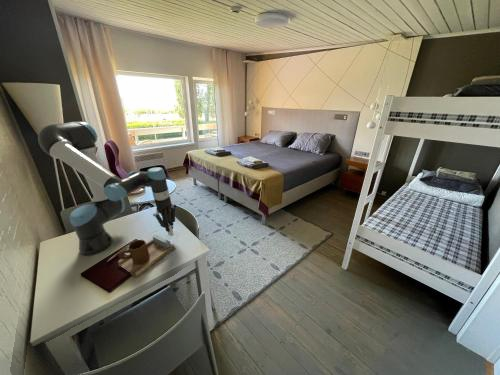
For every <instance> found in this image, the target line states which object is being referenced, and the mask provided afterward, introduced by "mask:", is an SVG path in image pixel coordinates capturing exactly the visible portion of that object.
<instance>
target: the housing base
mask: <svg viewBox="0 0 500 375" xmlns="http://www.w3.org/2000/svg"><path fill="white" fill-rule="evenodd" d="M146 245H147V248H148V252H149V255H150V257H149V260H148V261H147V262H145V263H143V264H140V265H136V264H134V263H133V261H132V259H121V258H120V259H119V260H118V261H117V262H118V263H117V265H119V266H118V267H120V266H121V267H122V268H124V269H125V270H127V271H128V272H130V273H131V274H130V273H129V274H130V275H131V276H133V277H134V278H135V279H138V278H140V276H142V275H143V274H144V273H146V272H147V271H148V270H150V269H151V268H152V267H154V266H155V265H157V264H158V263H159V262H161V261H162V260H163V259H164V258H166V257H167V256H169V255H170V254H171V253H173V252H174V251H175V250H176V247H175V246H174V244H171V247H169V248H168V249H166V248H164V247H162V246H160V245H158V244H156V243H154V240H153V238H152V239H151V240H149V241H148V242H146ZM127 255H130V253H127ZM121 267H120V268H121ZM122 268H121V269H122ZM124 269H123V270H124ZM125 270H124V271H125ZM127 271H126V272H127ZM128 272H127V273H128Z"/></svg>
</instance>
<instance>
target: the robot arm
mask: <svg viewBox="0 0 500 375" xmlns="http://www.w3.org/2000/svg"><path fill="white" fill-rule="evenodd" d="M37 141H38V144H39V146H40V148H41V149H42V150H43V152H45V153H46V154H47V155H48V156H50V157H52V159H55V160H56V159H59V160H60V161H62V162H63V163H65V164H66V165H68V166H69V167H71V168H73V170H75V171H77V172H78V173H79V174H82V176H84V179H85V181H86V183H87V185H88V188H89V189H90V191H91V194H92V196H93V197H92V198H91V201H92V203H91V204H90V203H89V204H85V205H81V206H78V207H76V208H75V209H74V210H73V211H72V212H71V213H70V215H69V220H70V221H69V222H70V224H71V226H72V228H73V230H74V231H75V232H74V233H75V234H76V236H77V238H78V250H79V252H80V254H81V255H83V256H93V255H96V254H99V253H103V252H104V251H105V250H107V249H109V248H110V247H111V246H112V244H113V242H114V238H113V237H112V235H110V234H109V232H107V230H106V229H105V226H104V224H106V223H107V222H109V221H111V220H112V219H114V218H115V217H117V216H119V215H120V214H121V213H123V212H124V211H125V208H126V203H125V200H124V198H126V197H127V196H128V195H131V194H132V193H134V192H136V191H138V190H139V189H141V188H143V187H145V188H150V189H151V192H152V197H153V199H154V204H155V207H156V212H154V213H153V214H152V216H153V217H155V219H156V220H157V222H158V224H159V225H160V227H161V228H164V229H165V231H166V232H167V235H168V236H169V237H173V236H174V234H175V233H174V230H173V229H174V223H175V222H176V208H177V205H176V204H174V203H172V200H171V196H170V192H169V186H168V184H167V182H168V181H167V176H166V174H165V170H164V168H163V167H157V166H156V167H151V168H149V169H147V171H140V170H134V171H133V170H132V171H129V172H128V174H126V176H125V177H124V178H120V177H119V176H117V175H116V174H114V173H113V172H111V171H110V170H108V169H107V168H105V167H104V166H102V165H101V164H100V161H99V159H98V157H97V154H96V151H95V150H96V148H97V146H96V142H97V141H98V134H97V132H96V130H95V129H94V128H93V127H92V126H91V125H90V124H89V123H87V122H84V121H70V122H64V123H56V124H55V123H54V124H49V125H46V126H44V127H43V128H41V129H40V131H39V132H38V136H37Z"/></svg>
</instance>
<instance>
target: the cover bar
mask: <svg viewBox="0 0 500 375" xmlns="http://www.w3.org/2000/svg"><path fill="white" fill-rule="evenodd" d="M152 239H153V240H154V243H156V244H158V245H160V246H162V247H164V248H166V249H168V248H169V247H171V246H172V244H171V243H172V242H171V240H168V239H166V238H164V237H162V236H159V235H158V234H154V235H153V236H152Z"/></svg>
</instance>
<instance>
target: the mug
mask: <svg viewBox="0 0 500 375" xmlns="http://www.w3.org/2000/svg"><path fill="white" fill-rule="evenodd" d="M146 243H147V242H146V241H145V240H144V239H138V240H134V241H133V242H131V243H130V244H129V245H128V249H123V250H121V251H120V252H119V253H118V257H119V259H120V260H121V259H132V261H133V263H134V264H136V265H140V264H143V263H145V262H147V261H148V260H149V257H150V255H149V252H148V248H147V245H146ZM123 254H127V255H123ZM128 254H130V255H128Z"/></svg>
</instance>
